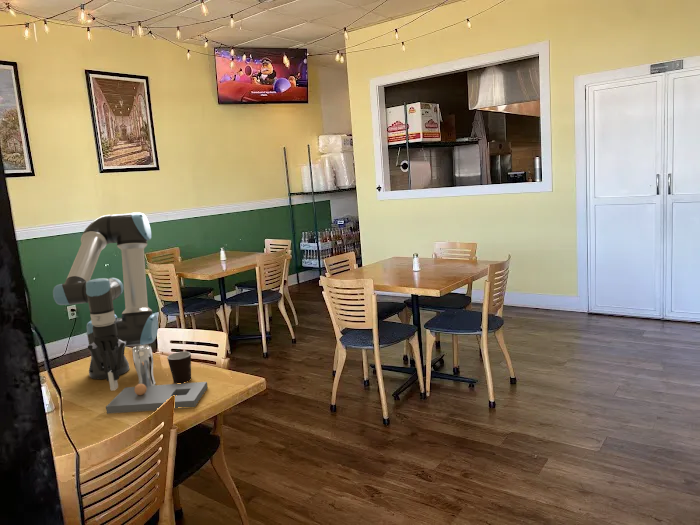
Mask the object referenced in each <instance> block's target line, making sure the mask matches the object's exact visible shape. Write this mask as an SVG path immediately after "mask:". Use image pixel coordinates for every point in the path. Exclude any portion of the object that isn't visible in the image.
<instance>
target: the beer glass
mask: <svg viewBox="0 0 700 525" xmlns="http://www.w3.org/2000/svg"><path fill="white" fill-rule="evenodd" d="M151 346H152V345H151V344H150V345H149V344H144V345H135V346H134V347H132V349H131V353H132V362H133V364H134V368H135V371H136V374H137V377H138V384H144V385H145V386H153V385H156V384H157V382H156V380H155V377H154V357H153V356H154V355H153V350H152V347H151Z"/></svg>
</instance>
